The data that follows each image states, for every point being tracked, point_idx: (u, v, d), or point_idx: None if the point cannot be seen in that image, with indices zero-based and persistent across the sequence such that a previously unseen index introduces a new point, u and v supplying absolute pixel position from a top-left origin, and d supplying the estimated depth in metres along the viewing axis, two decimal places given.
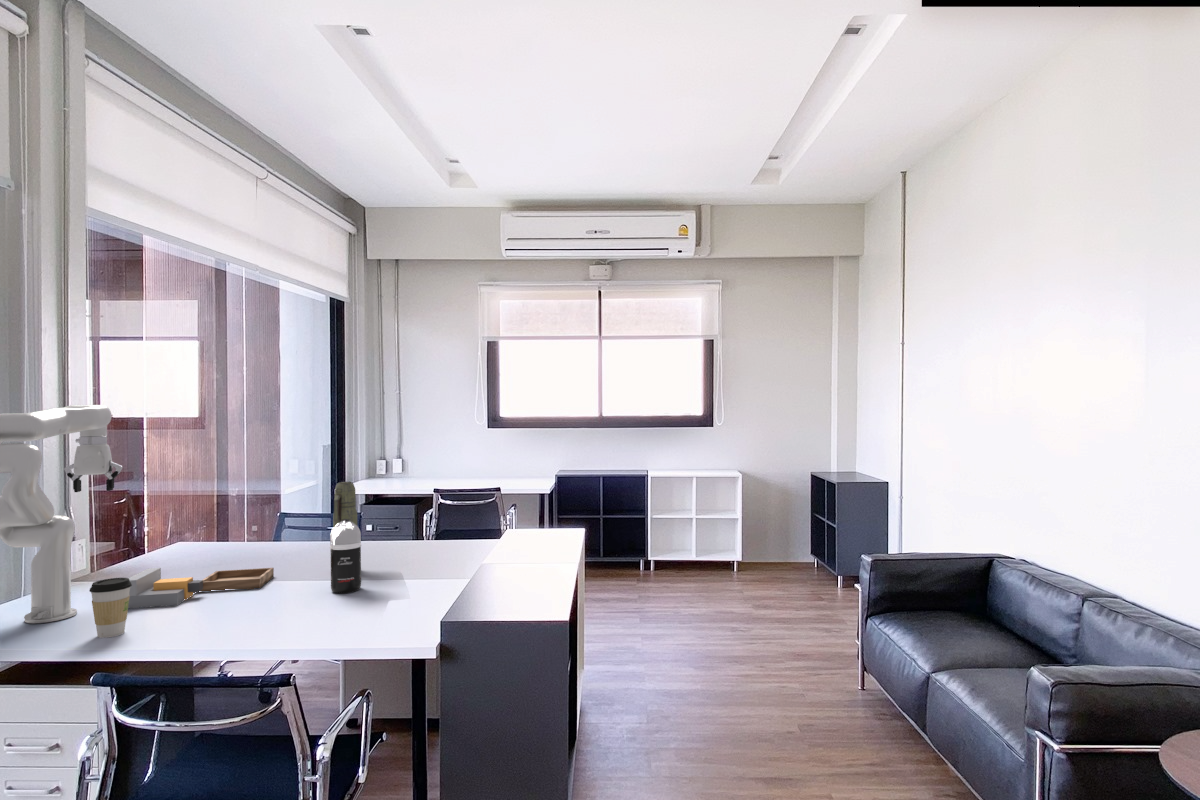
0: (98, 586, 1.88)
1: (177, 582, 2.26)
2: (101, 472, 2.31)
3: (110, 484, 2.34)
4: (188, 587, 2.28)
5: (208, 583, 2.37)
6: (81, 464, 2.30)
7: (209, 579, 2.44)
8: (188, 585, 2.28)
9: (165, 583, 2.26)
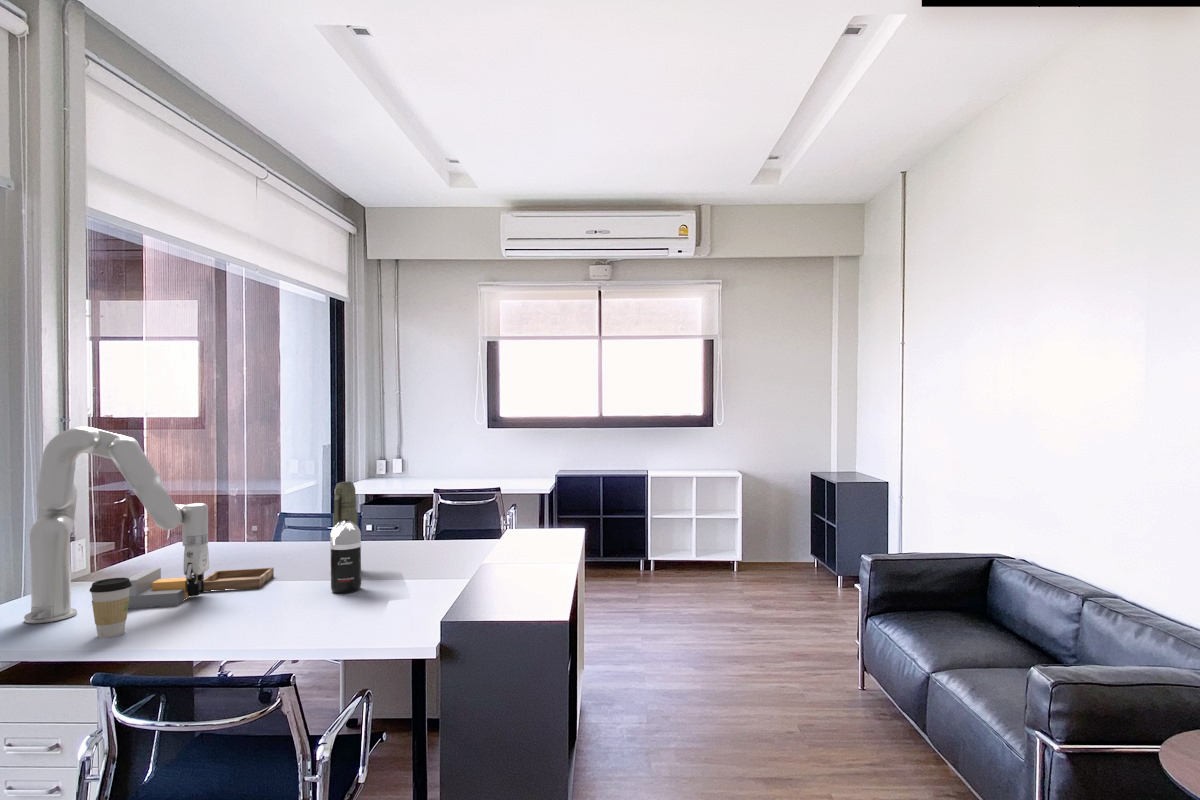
0: (98, 586, 1.88)
1: (176, 582, 2.26)
2: (208, 568, 2.34)
3: None
4: (187, 587, 2.28)
5: (208, 583, 2.37)
6: (201, 563, 2.28)
7: (209, 579, 2.44)
8: (187, 584, 2.28)
9: (164, 583, 2.26)
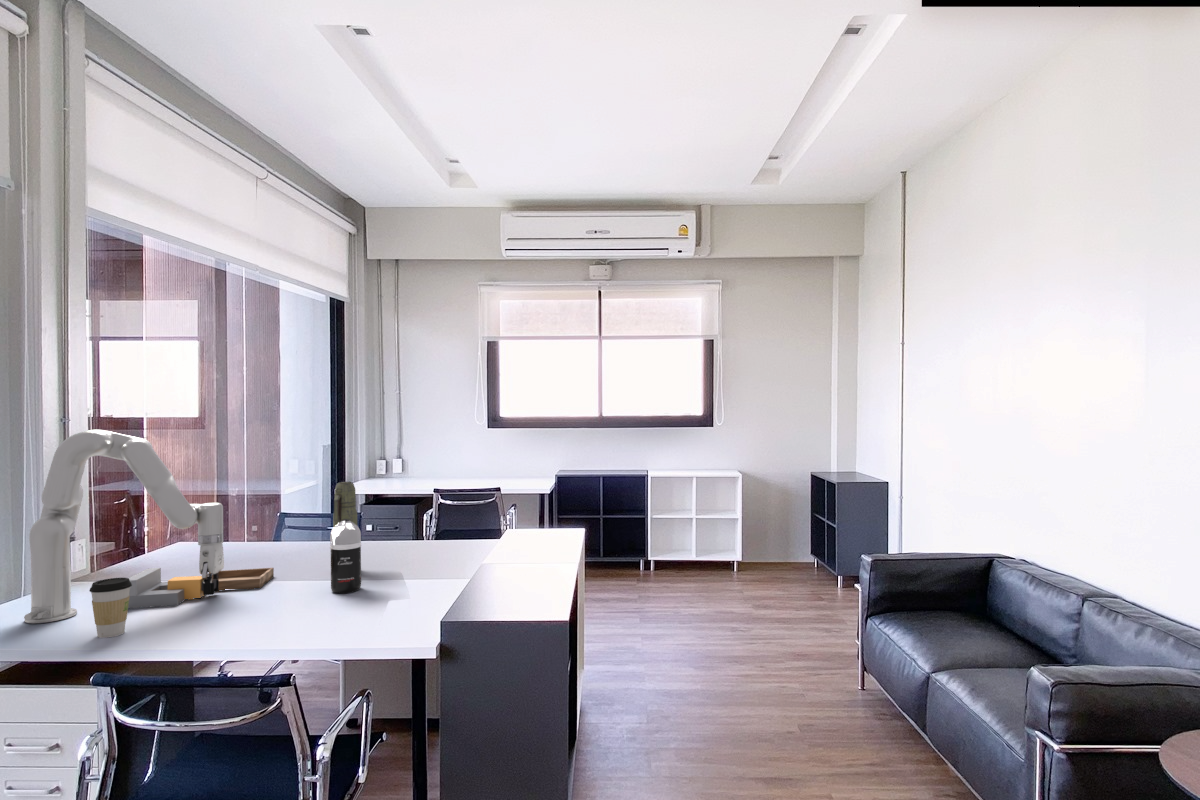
0: (98, 586, 1.88)
1: (191, 580, 2.27)
2: (223, 567, 2.35)
3: None
4: (202, 585, 2.29)
5: None
6: (217, 562, 2.29)
7: None
8: (202, 583, 2.29)
9: (179, 581, 2.26)
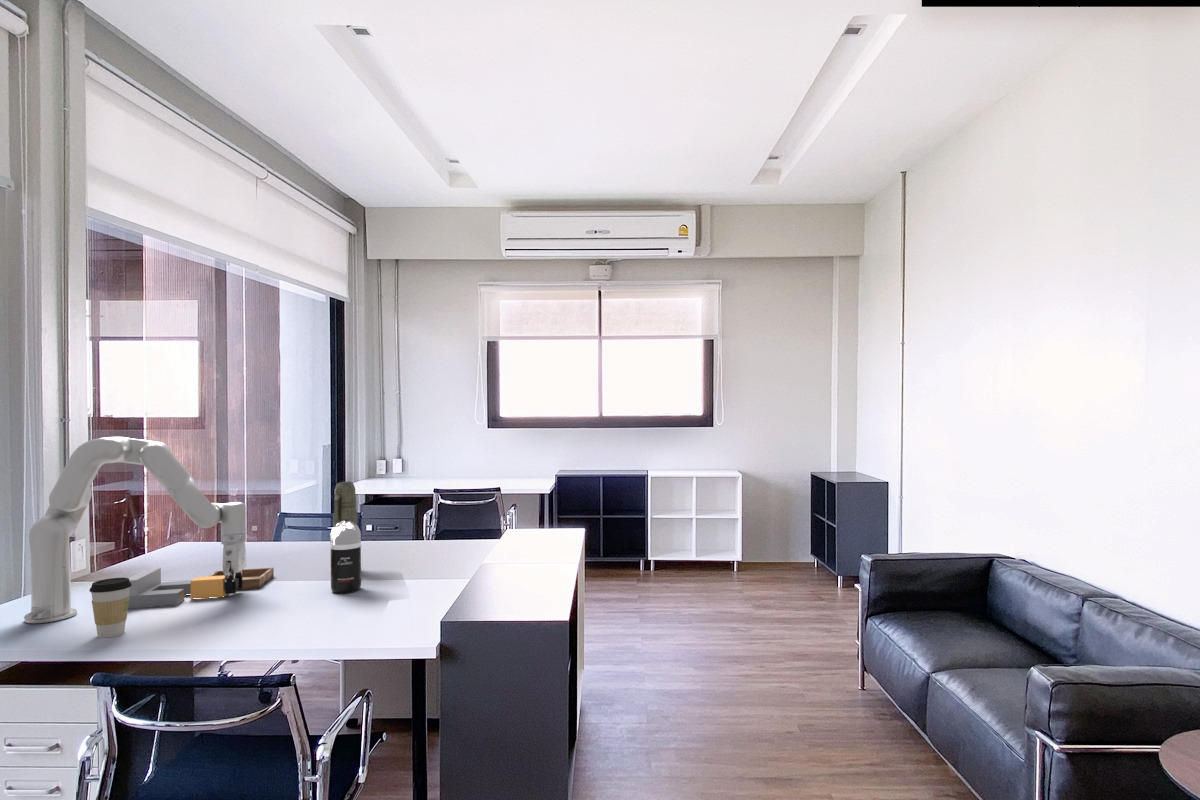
0: (98, 586, 1.88)
1: (214, 580, 2.29)
2: (245, 566, 2.36)
3: None
4: (224, 585, 2.30)
5: None
6: (240, 561, 2.31)
7: None
8: None
9: (202, 581, 2.28)
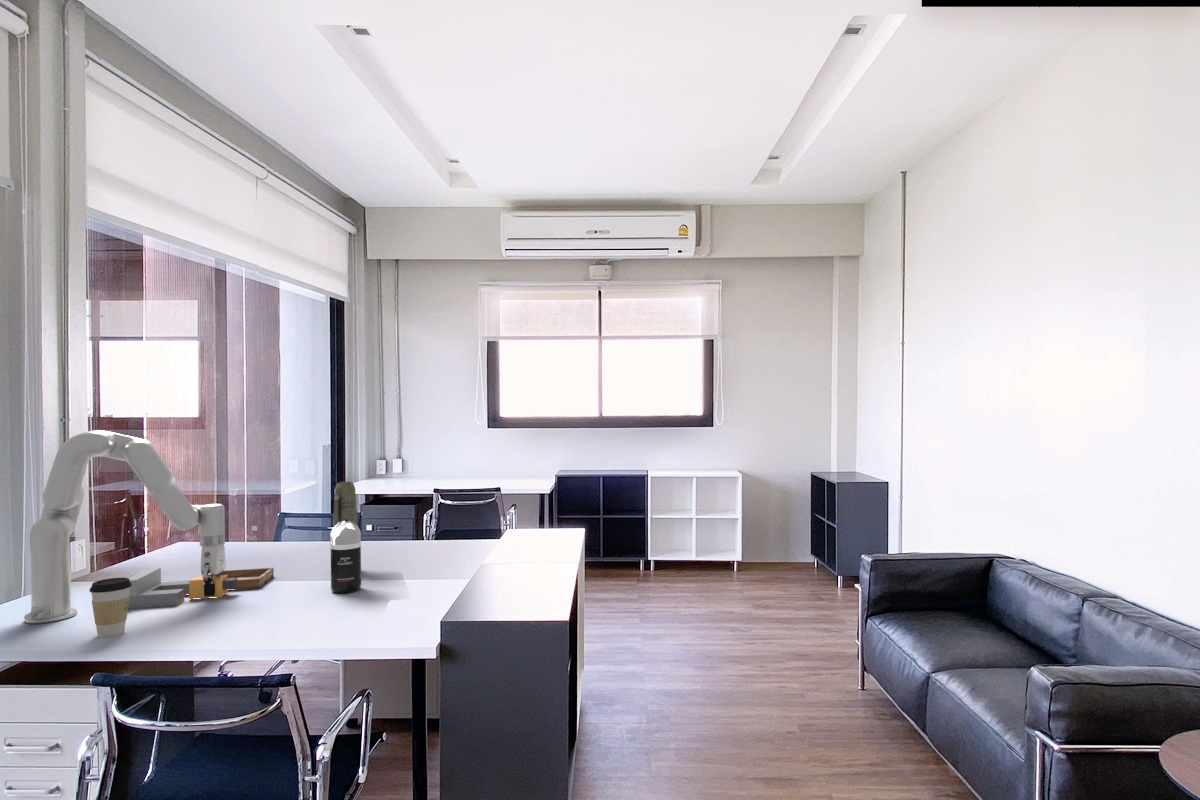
0: (98, 586, 1.88)
1: None
2: (224, 568, 2.35)
3: None
4: (223, 584, 2.30)
5: None
6: (218, 563, 2.29)
7: None
8: (223, 582, 2.30)
9: (201, 580, 2.28)
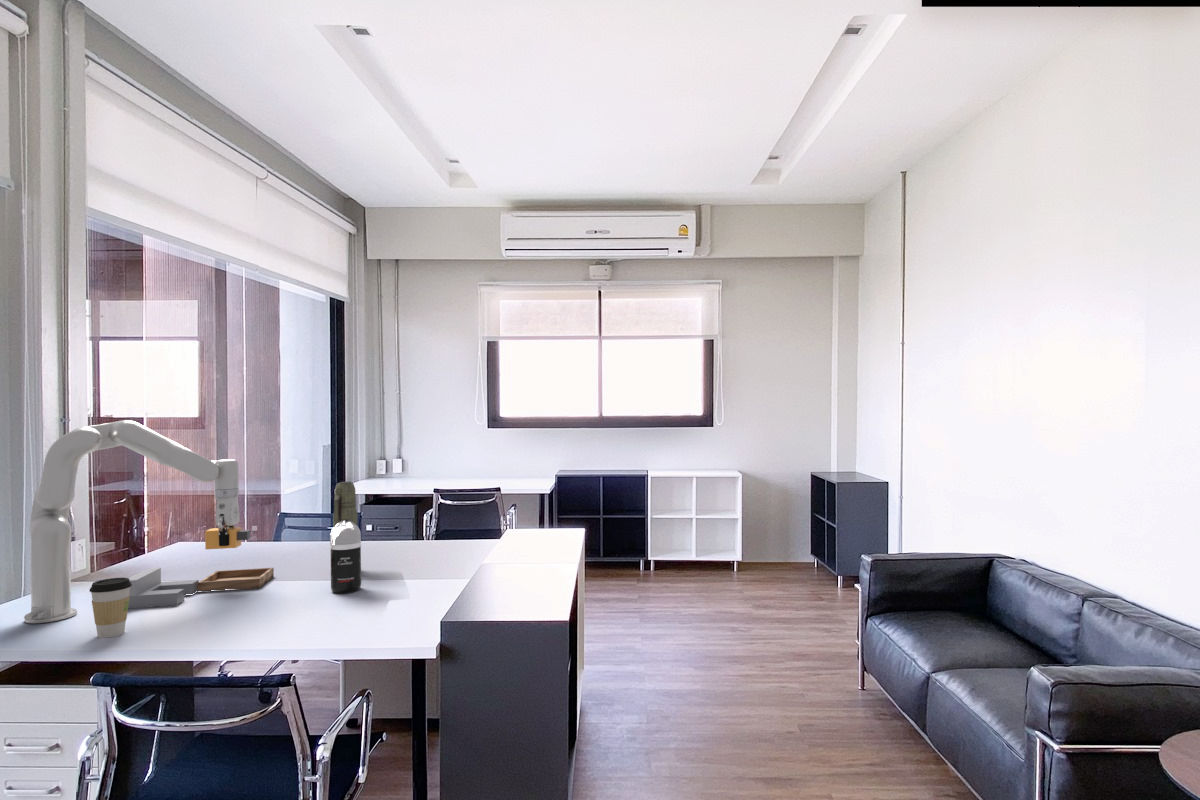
0: (98, 586, 1.88)
1: None
2: (238, 520, 2.47)
3: None
4: (237, 535, 2.42)
5: (208, 583, 2.37)
6: (232, 515, 2.41)
7: (209, 579, 2.44)
8: (237, 533, 2.42)
9: (216, 531, 2.40)
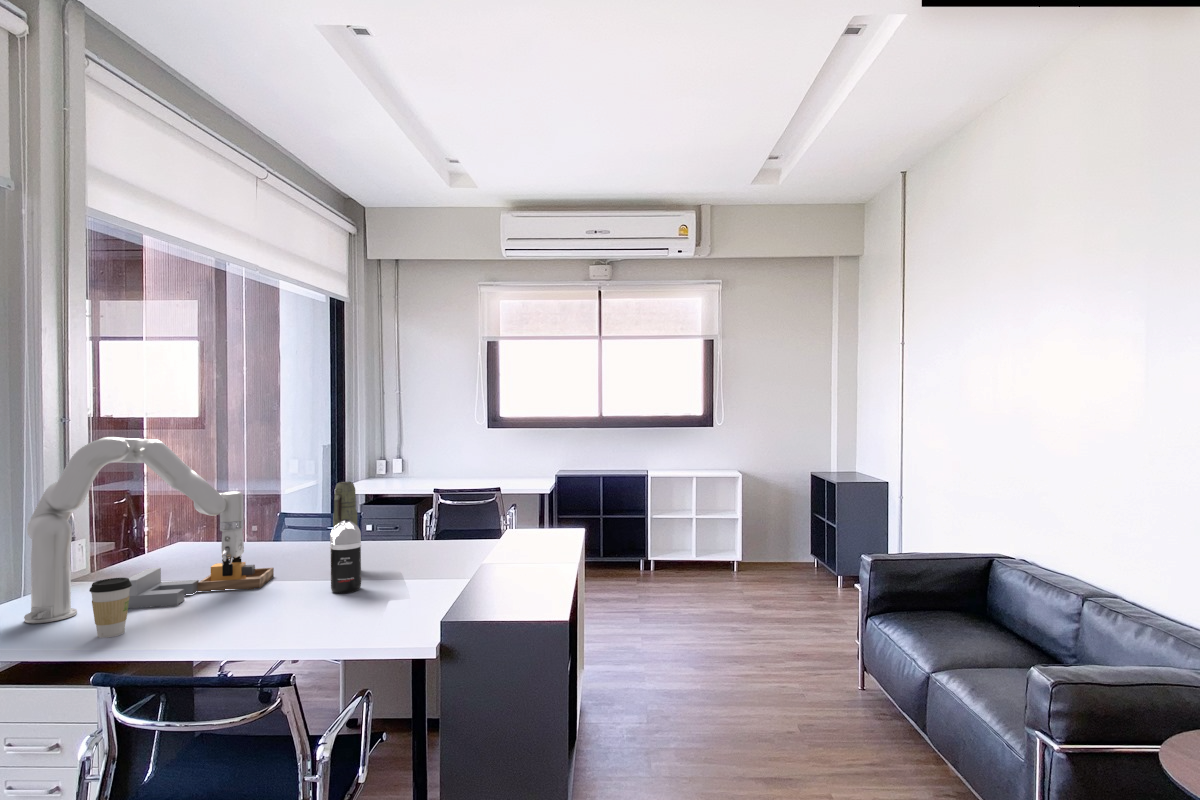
0: (98, 586, 1.88)
1: None
2: (243, 552, 2.51)
3: None
4: (242, 571, 2.46)
5: (208, 583, 2.37)
6: (237, 547, 2.45)
7: (209, 579, 2.44)
8: (242, 568, 2.46)
9: (221, 567, 2.44)
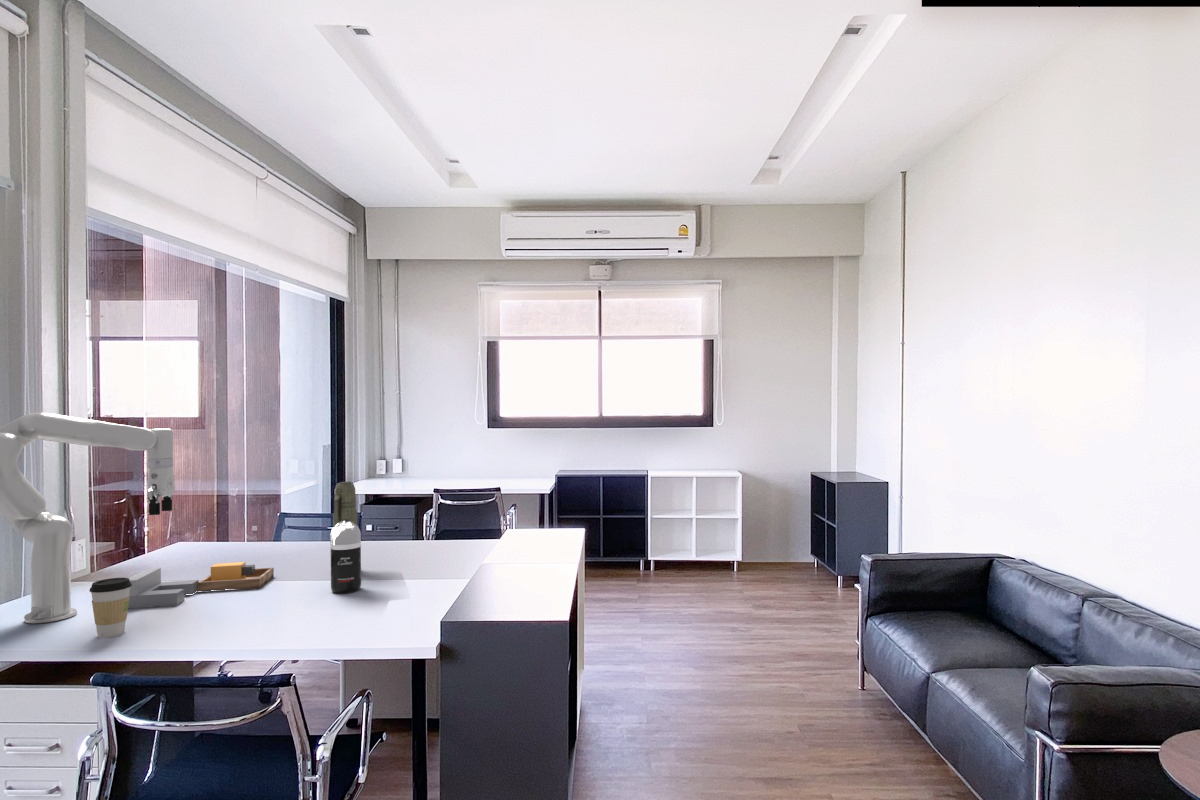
0: (98, 586, 1.88)
1: (232, 566, 2.44)
2: (173, 492, 2.40)
3: None
4: (242, 571, 2.46)
5: (208, 583, 2.37)
6: (166, 485, 2.34)
7: (209, 579, 2.44)
8: (242, 568, 2.46)
9: (221, 567, 2.44)
